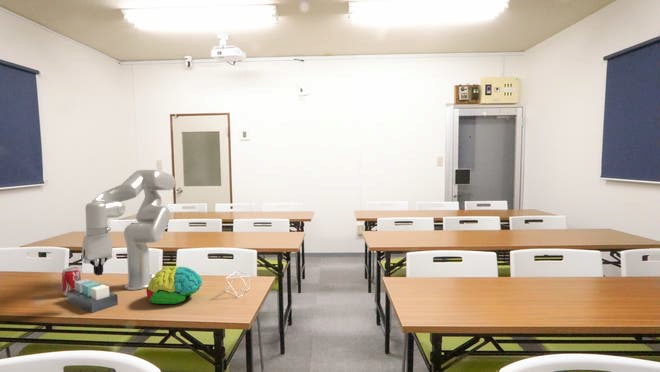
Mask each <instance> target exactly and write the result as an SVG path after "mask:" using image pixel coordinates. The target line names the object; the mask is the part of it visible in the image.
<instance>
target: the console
mask: <svg viewBox="0 0 660 372" xmlns="http://www.w3.org/2000/svg"><path fill="white" fill-rule="evenodd" d="M66 300H67V302H68V303H70V304H72V305H74V306H76V307H79V308H81V309H83V310H84V311H87V312H90V313H91V314H93V313H97V312H99V311H103V310H105V309H109V308H111V307H115V306H118V304H119V303H118V301H119V300H118V293H115V292H112V291H110V290H109V296H108V297H105V298H101V299H98V300H94V299H91V296H88V297H87V296H84V295H83V292H82V293H77V292H75V289H74V290H70V291H67V296H66Z"/></svg>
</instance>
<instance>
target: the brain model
mask: <svg viewBox="0 0 660 372" xmlns="http://www.w3.org/2000/svg"><path fill="white" fill-rule="evenodd" d="M155 274H156V275H155ZM155 274H154V275H155V276H154V277H153V278H152V280H151V281H150V283H149V285H148V287H147V288H145V289H146V290H145V291H146V292H145V293H146V296H147V300H148V301H149V302H150V303H151V304H156V305H157V304H158V305H159V304H163V305H176V304H180V303H183V302H184V301H185V299H186V297H189V296H191V295H193V294H195V293H197V292H198V291H199V290H200V288H201V286H202V285H203V280H202V276H200V274H199V273H197V272H196V271H195V270H194V269H192V268H190V267H187V266H178V265H177V266H176V265H175V266H168V267H164V268H161V270H159V271H157V272H156V273H155Z"/></svg>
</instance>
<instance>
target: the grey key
mask: <svg viewBox="0 0 660 372" xmlns="http://www.w3.org/2000/svg"><path fill="white" fill-rule="evenodd" d="M91 282H93V280H92V279H89V278H84V279H81V280H80V281H76V282H75V292H77V293H82V292H83V289H82V285H83V284H87V283H91Z"/></svg>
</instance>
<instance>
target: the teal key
mask: <svg viewBox="0 0 660 372" xmlns="http://www.w3.org/2000/svg"><path fill="white" fill-rule="evenodd" d="M100 285H102V284H101V283H100V282H97V281H92V282H91V283H87V284H83V285H82V289H83V295H84V296H87V297H88V296H91V289H90V288H93V287H96V286H100Z"/></svg>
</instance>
